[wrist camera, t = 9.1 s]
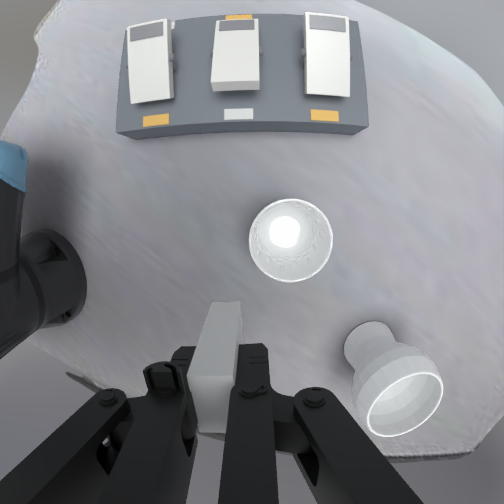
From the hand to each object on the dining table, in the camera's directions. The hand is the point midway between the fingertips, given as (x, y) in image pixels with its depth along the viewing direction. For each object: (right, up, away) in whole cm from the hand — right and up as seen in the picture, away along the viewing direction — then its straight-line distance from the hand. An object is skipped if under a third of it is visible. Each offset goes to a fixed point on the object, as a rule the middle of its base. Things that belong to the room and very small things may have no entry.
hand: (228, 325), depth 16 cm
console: (0, +25, +18) cm, 31 cm away
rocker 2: (0, +24, +10) cm, 25 cm away
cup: (+18, -10, +26) cm, 33 cm away
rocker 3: (+9, +24, +9) cm, 27 cm away
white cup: (+5, +7, +22) cm, 24 cm away
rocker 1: (-9, +24, +10) cm, 27 cm away
